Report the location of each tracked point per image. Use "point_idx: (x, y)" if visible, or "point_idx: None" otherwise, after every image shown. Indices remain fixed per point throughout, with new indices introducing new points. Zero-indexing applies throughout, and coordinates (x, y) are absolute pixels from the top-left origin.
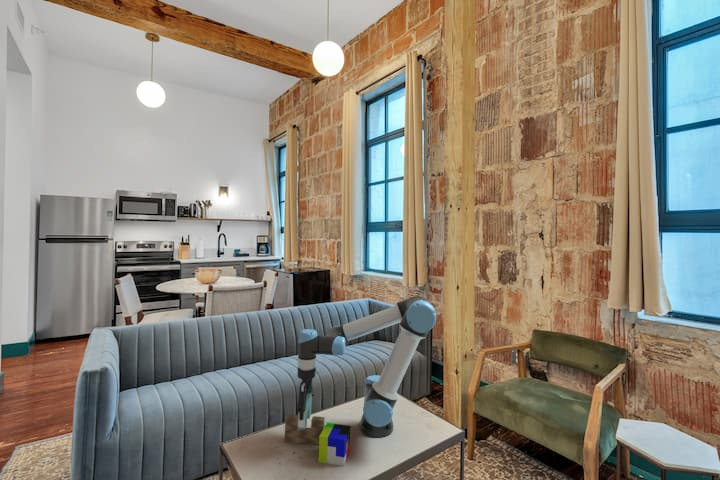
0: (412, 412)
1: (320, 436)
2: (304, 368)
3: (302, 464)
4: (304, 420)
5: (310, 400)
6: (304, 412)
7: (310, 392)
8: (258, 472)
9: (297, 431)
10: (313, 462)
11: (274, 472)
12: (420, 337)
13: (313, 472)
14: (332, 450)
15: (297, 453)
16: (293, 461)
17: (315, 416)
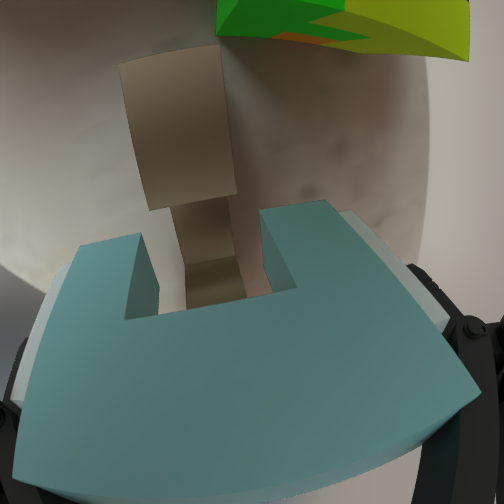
0: None
1: (467, 53)
2: None
3: (385, 127)
4: (386, 249)
5: (84, 397)
6: (440, 314)
7: (44, 499)
8: (414, 263)
9: (233, 248)
10: (368, 77)
11: (420, 218)
12: None
13: (422, 71)
14: None
15: (313, 175)
16: (370, 172)
17: (144, 179)
